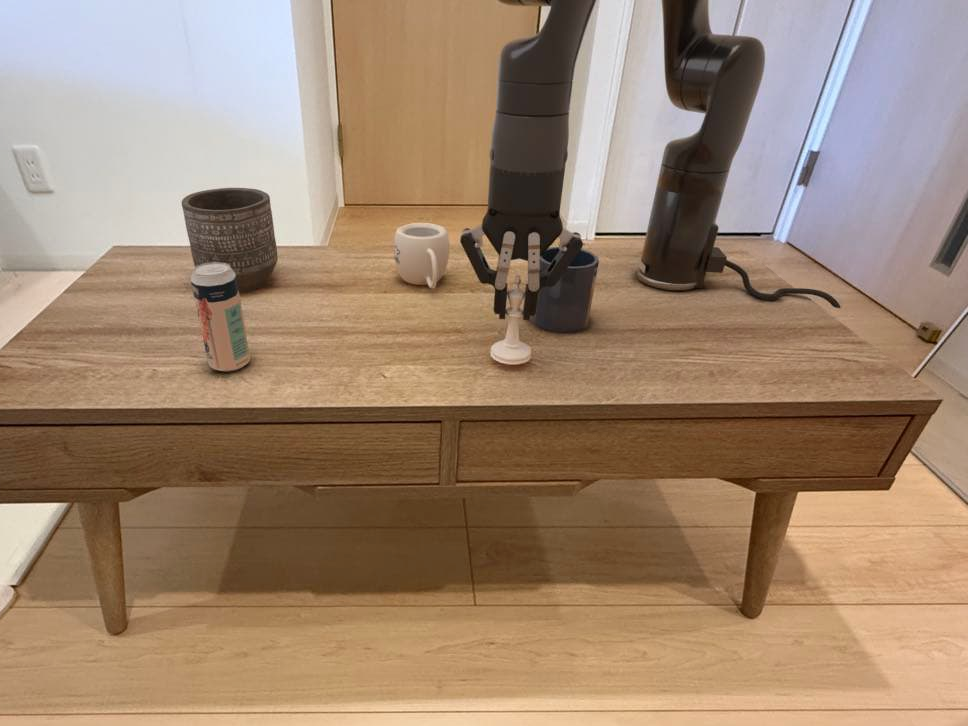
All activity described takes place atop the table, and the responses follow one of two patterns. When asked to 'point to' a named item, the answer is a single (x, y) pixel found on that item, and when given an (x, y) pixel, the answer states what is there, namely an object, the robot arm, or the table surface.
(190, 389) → the table surface
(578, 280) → the slate cup
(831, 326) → the table surface
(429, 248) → the mug
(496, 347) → the chess piece
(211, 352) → the beer can
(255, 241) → the planter
